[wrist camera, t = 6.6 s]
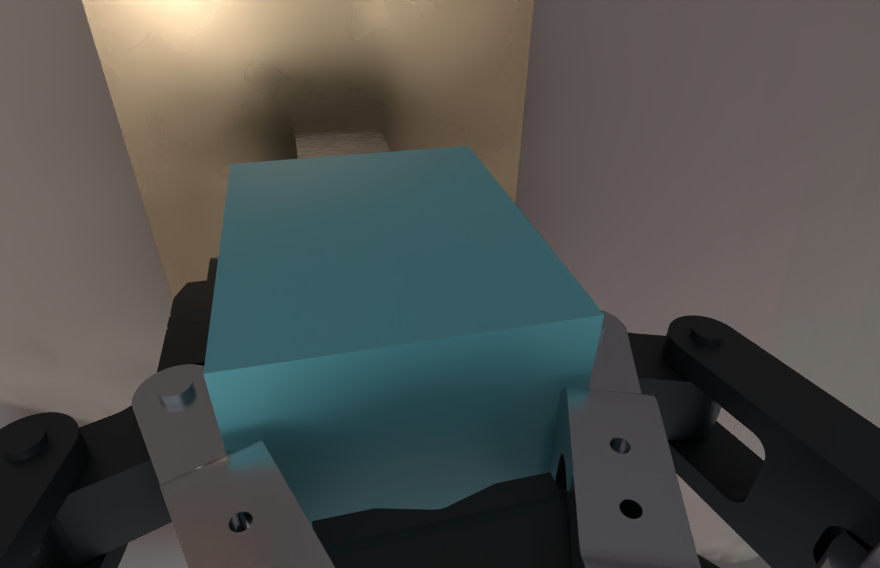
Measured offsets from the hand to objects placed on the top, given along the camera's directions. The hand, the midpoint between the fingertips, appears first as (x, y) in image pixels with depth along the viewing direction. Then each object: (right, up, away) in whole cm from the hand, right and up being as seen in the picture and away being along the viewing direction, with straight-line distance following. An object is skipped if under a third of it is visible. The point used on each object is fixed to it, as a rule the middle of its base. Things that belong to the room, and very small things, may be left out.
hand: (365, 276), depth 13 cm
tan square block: (-2, +4, +6) cm, 7 cm away
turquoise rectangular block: (0, 0, +1) cm, 1 cm away
